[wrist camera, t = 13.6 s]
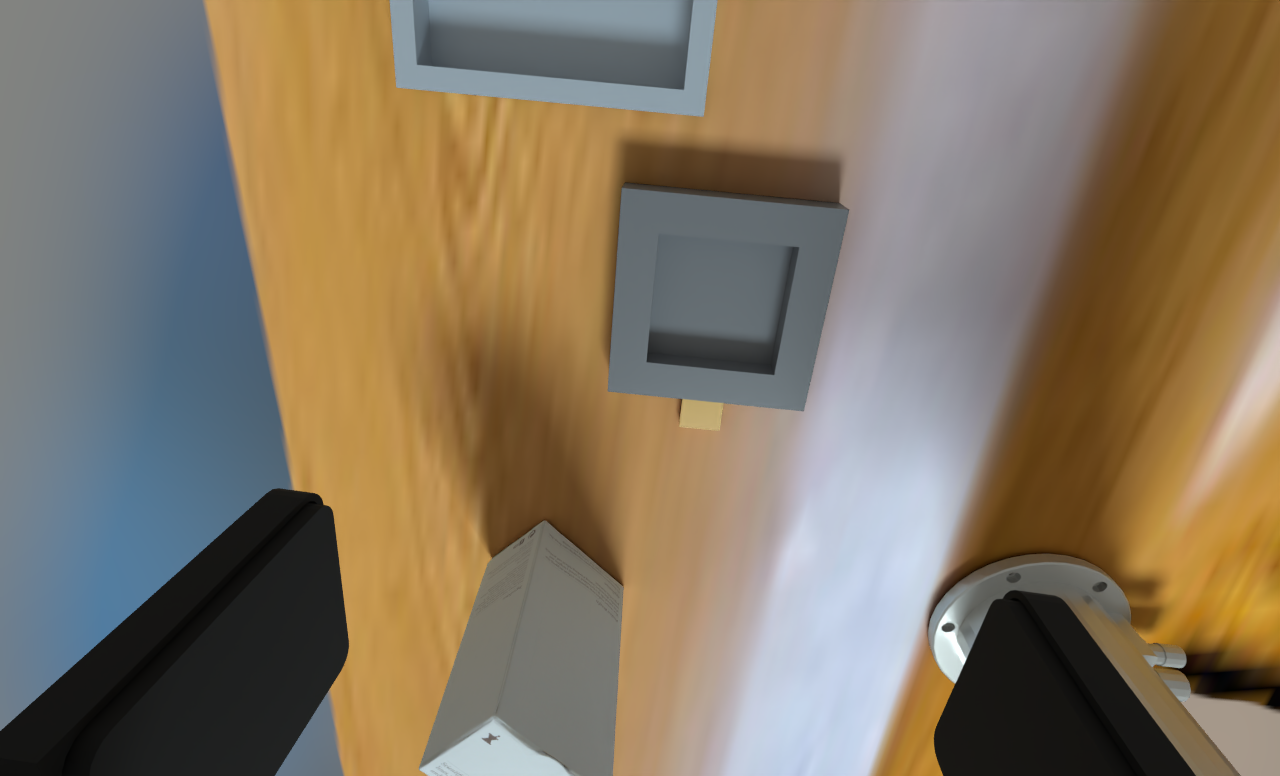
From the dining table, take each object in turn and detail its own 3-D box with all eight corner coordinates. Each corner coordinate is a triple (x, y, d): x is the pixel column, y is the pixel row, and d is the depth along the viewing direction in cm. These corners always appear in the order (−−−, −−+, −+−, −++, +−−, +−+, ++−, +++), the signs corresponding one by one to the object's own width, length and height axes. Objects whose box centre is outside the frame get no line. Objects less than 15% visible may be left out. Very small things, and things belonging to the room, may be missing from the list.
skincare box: (488, 557, 43) (402, 767, 30) (549, 513, 41) (486, 716, 28) (572, 627, 46) (528, 850, 32) (633, 588, 44) (613, 808, 30)
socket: (839, 203, 32) (849, 209, 30) (789, 432, 38) (795, 449, 36) (624, 182, 32) (621, 187, 30) (608, 413, 38) (605, 430, 36)
